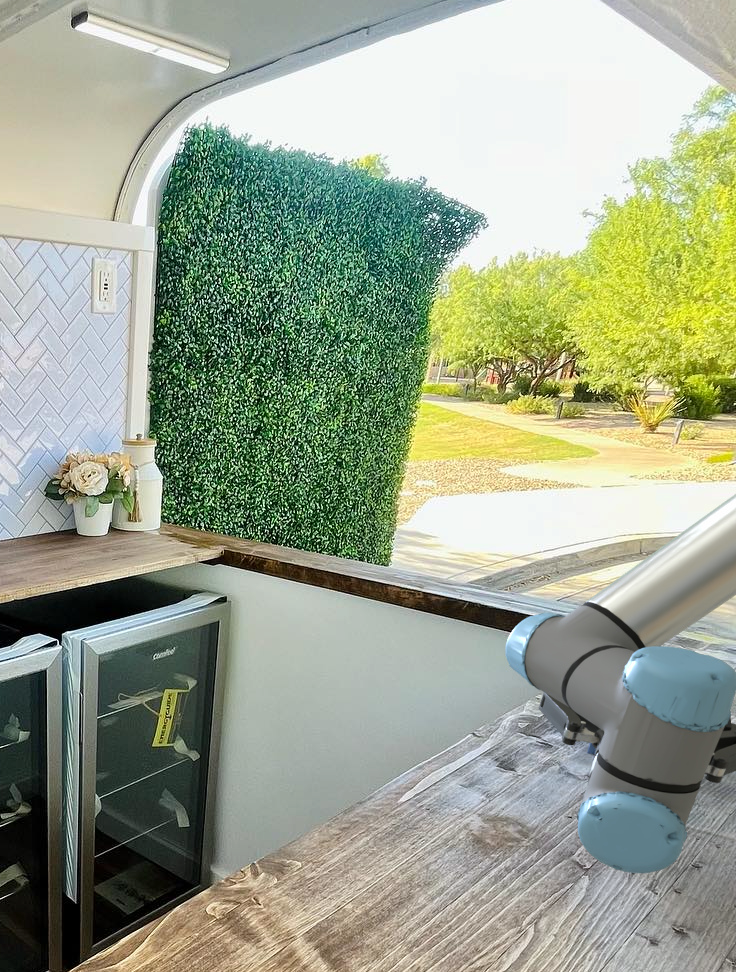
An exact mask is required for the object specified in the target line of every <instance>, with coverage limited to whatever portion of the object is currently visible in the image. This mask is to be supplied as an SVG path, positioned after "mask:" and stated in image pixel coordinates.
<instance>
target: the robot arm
mask: <svg viewBox="0 0 736 972" xmlns="http://www.w3.org/2000/svg"><path fill="white" fill-rule="evenodd" d="M734 597H736V493H734V494H733V495H732V496H731V497H729V498H727V499H726V500H725V501H724V502H722V503H721V504H719V505H718V506H717V507H715V508H713V510H711V511H710V512H709V513H707V514H706V515H704V516H703V517H702V518H700V519H698V520H697V521H696V522H694V523H693V524H692V525H690V526H689V527H688V528H686V529H685V530H683V531H682V532H681V533H679V534H678V535H676V536H675V537H673V538H672V539H671V540H669V541H668V542H667V543H665V544H664V545H662V546H661V547H659V548H658V549H657V550H656V551H654V552H652V553H651V554H650V555H649V556H647V557H646V558H644V559H643V560H641V561H640V562H639V563H638V564H636V565H635V566H633V567H632V568H630V569H629V570H627V572H624V573H623V574H622V575H621V576H619V577H618V578H617V579H615V580H614V581H613V582H611V583H609V584H608V585H606V586H605V587H604V588H602V589H601V590H599V592H597V593H596V594H594V595H593V596H591V597H590V598H589V599H587V600H586V601H584V603H583V604H581V605H579V606H577V607H576V608H575V609H573V610H572V611H570V612H569V613H568V614H566V615H563V614H559V613H554V612H542V613H537V614H534V615H530V616H527V617H526V618H524V619H522V620H521V621H520V622H519V623H518V624H517V625H515V627H514V628H513V629H512V631H511V632H510V633H509V635H508V637H507V639H506V643H505V658H506V660H507V663H508V665H509V667H510V668H511V669H512V670H513V671H514V672H516V673H517V674H518V675H519V676H520V677H522V678H523V679H524V680H526V681H527V682H528V684H529V685H530V686H532V687H534V688H535V689H536V690H539V691H542V695H541V698H540V699H541V700H540V703H539V706H538V710H539V711H540V712H541V713H542V715H543V716H545V718H546V719H547V720H548V722H550V724H551V725H552V726H553V727H554V728H555V729H556V730H557V732H558V733H559V734H560V735H561V742H562V743H563V744H564V745H566V746H567V745H568V746H576V743H580V742H585V743H588V744H590V743H592V745H593V747H594V748H595V749H596V751H595V755H593V760H592V764H591V767H590V771H589V774H588V781H587V785H586V788H585V792H584V794H583V798H582V802H581V804H580V806H579V809H578V811H577V816H576V821H577V834H578V838H579V841H580V843H581V845H582V846H583V848H585V850H586V852H588V853H589V855H590V856H592V857H593V858H594V859H595V860H597V861H598V862H600V864H603V865H605V866H607V867H609V868H612V869H613V870H616V871H620V872H625V873H630V874H650V873H656V872H659V871H662V870H664V869H666V868H669V867H670V866H671V865H674V863H675V862H676V861H677V860H678V858H679V857H680V856H681V853H682V851H683V847H684V844H685V842H686V840H687V837H688V832H687V831H686V825H687V823H688V819H689V817H690V814H691V811H692V809H693V807H694V804H695V802H696V799H697V797H698V794H699V792H700V789H701V784H702V781H703V779H704V778H705V780H707V781H708V782H711V783H715V784H720V783H721V782H722V779H723V777H724V776H727V775H730V774H732V773H734V772H736V723H733V722H732V711H731V708H732V706H733V702H734V699H735V696H736V670H735V669H734V667H732V666H731V665H730V664H728V663H727V662H726V661H724V660H721V659H720V658H717V657H715V656H712V655H710V654H704V653H699V652H697V651H696V650H692V649H687V648H682V647H673V646H665V645H664V644H666V643H667V642H669V641H670V640H672V639H673V638H675V637H677V636H678V635H680V634H681V633H682V632H684V631H685V630H687V629H688V628H690V627H691V626H693V625H694V624H696V623H697V622H699V621H700V620H702V619H703V618H704V617H706V616H707V615H709V614H711V612H713V611H714V610H716V609H718V608H719V607H721V606H722V605H724V604H725V603H727V602H728V601H729V600H731V599H733V598H734ZM704 776H705V777H704Z"/></svg>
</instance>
